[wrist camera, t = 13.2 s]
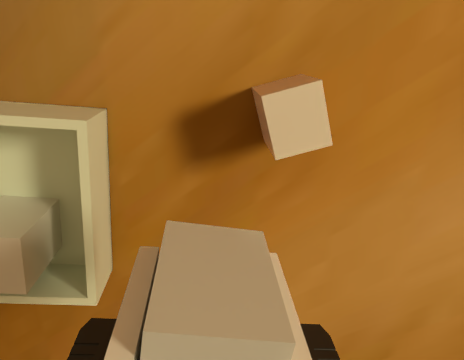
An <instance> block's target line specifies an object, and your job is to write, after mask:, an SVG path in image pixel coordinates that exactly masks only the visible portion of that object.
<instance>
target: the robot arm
mask: <svg viewBox="0 0 464 360" xmlns="http://www.w3.org/2000/svg"><path fill="white" fill-rule="evenodd" d="M269 254H270V257H271V261H272V264H273V267H274V271H275V274H276V278H277V281H278V284H279V288H280V291H281V295H282V298H283V302H284V305H285V308H286V312H287V315H288V319H289V322H290V325H291V329H292V332H293V336H294V339H295V342H296V344H295V348H294V351H293V355H292V358H291V360H340V358H339V356H338V354H337V351H335V346H334V344H333V342H332V339H331V337H330V335H329V334H328V333H327V332H326V331H325V330H324V329H323V328H322V327H321V325H320V324H300V322H299V319H298V316H297V313H296V310H295V307H294V304H293V301H292V298H291V295H290V292H289V289H288V286H287V283H286V280H285V277H284V274H283V271H282V268H281V265H280V262H279V259H278V256H277V253H269ZM158 259H159V247H146V246H140V248H139V251H138V254H137V258H136V261H135V264H134V267H133V270H132V273H131V276H130V279H129V283H128V286H127V289H126V292H125V295H124V298H123V301H122V304H121V308H120V311H119V314H118V317H117V319H103V318H91V319H90V320H89V321H88V322H87V323H86V324H85V325H84V326H83V327H82V328H81V329H80V331H79V333H78V336H77V338H76V340H75V343H74V346H73V347H72V349H71V352H70V355H69V357H68V359H67V360H140V355H141V345H142V335H143V328H144V324H145V319H146V315H147V310H148V305H149V301H150V296H151V291H152V287H153V282H154V277H155V273H156V268H157V264H158Z"/></svg>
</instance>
